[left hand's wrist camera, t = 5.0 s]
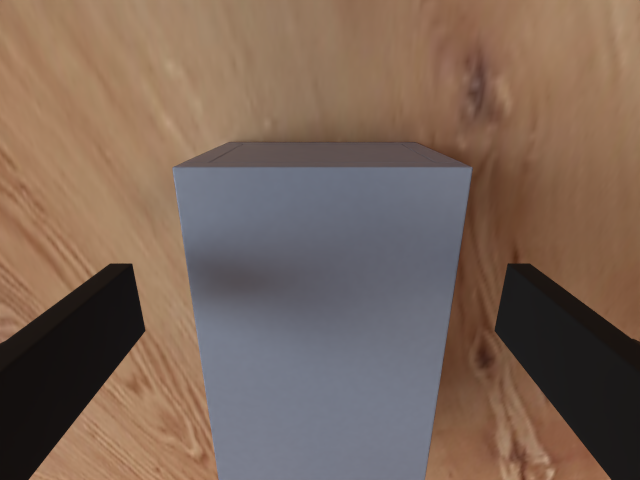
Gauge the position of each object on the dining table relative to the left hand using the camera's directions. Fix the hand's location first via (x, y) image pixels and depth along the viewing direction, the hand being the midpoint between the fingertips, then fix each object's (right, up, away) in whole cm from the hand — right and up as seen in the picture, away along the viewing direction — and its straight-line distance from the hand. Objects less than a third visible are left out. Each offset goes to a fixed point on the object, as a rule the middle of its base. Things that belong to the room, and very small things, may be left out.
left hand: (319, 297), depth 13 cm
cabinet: (0, -1, +11) cm, 11 cm away
